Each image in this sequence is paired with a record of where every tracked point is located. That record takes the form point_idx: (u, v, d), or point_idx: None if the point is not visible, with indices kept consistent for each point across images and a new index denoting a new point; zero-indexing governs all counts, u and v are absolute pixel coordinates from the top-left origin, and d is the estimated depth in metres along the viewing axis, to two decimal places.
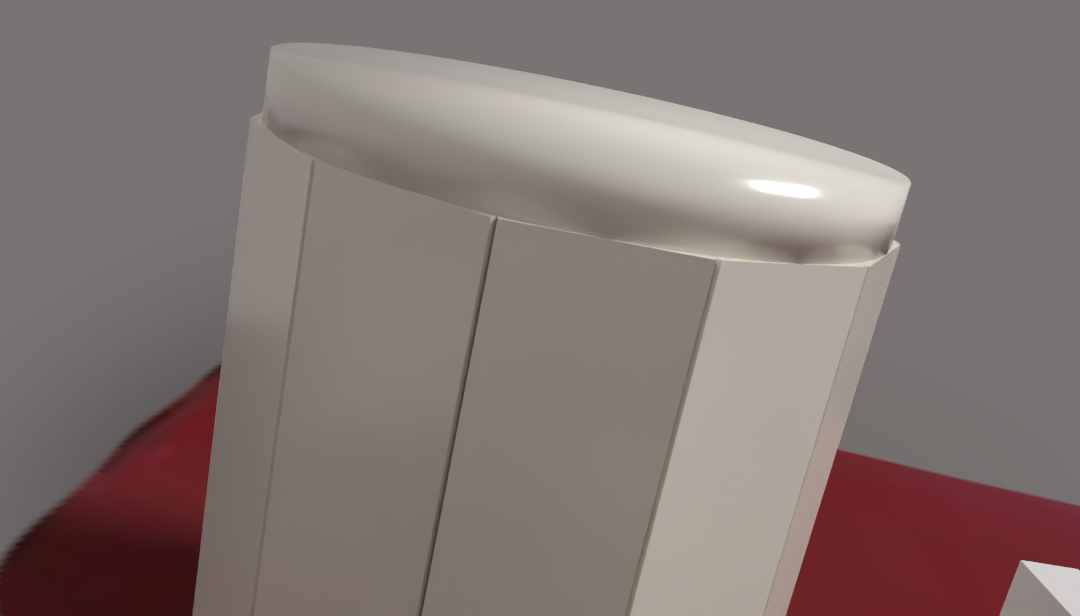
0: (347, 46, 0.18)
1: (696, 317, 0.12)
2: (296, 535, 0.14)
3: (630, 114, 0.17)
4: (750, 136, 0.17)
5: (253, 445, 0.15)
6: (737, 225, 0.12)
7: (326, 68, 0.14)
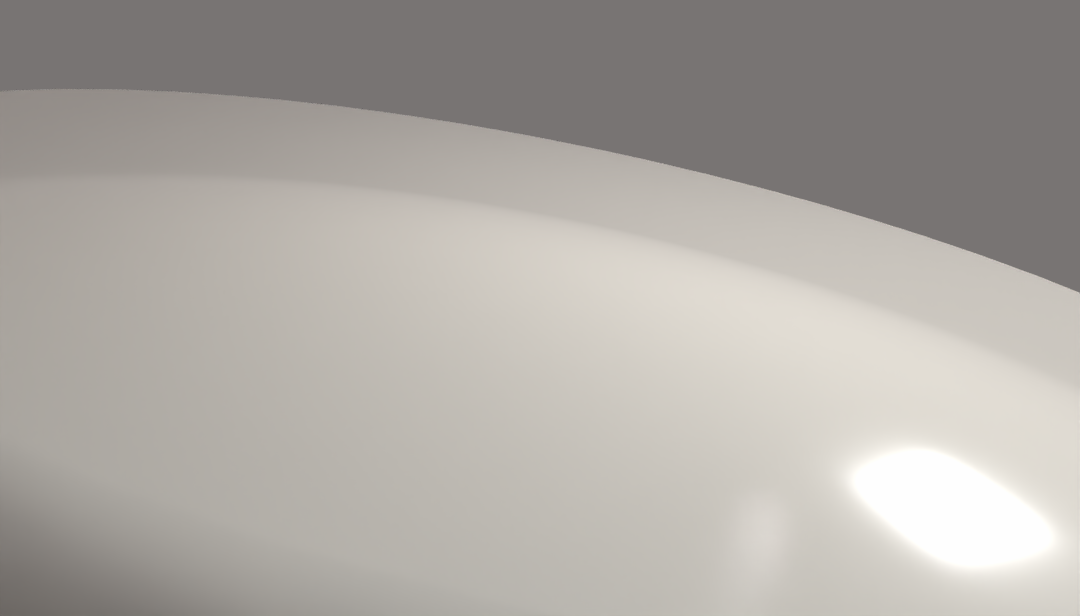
0: (114, 93, 0.09)
1: None
2: None
3: (672, 246, 0.08)
4: (914, 282, 0.08)
5: None
6: None
7: None
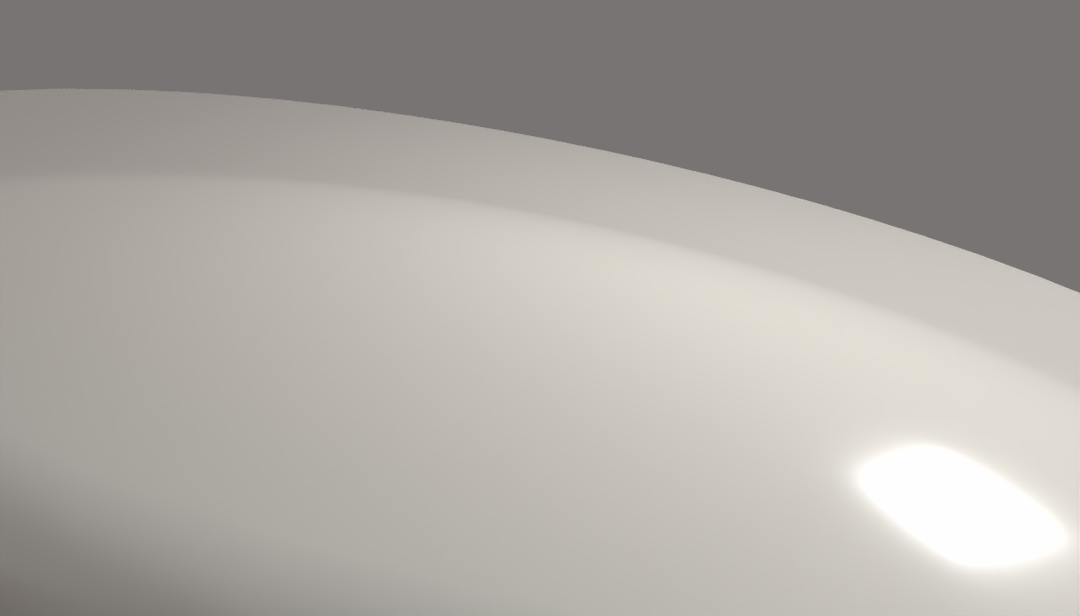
0: (114, 92, 0.09)
1: None
2: None
3: (670, 246, 0.08)
4: (912, 282, 0.08)
5: None
6: None
7: None
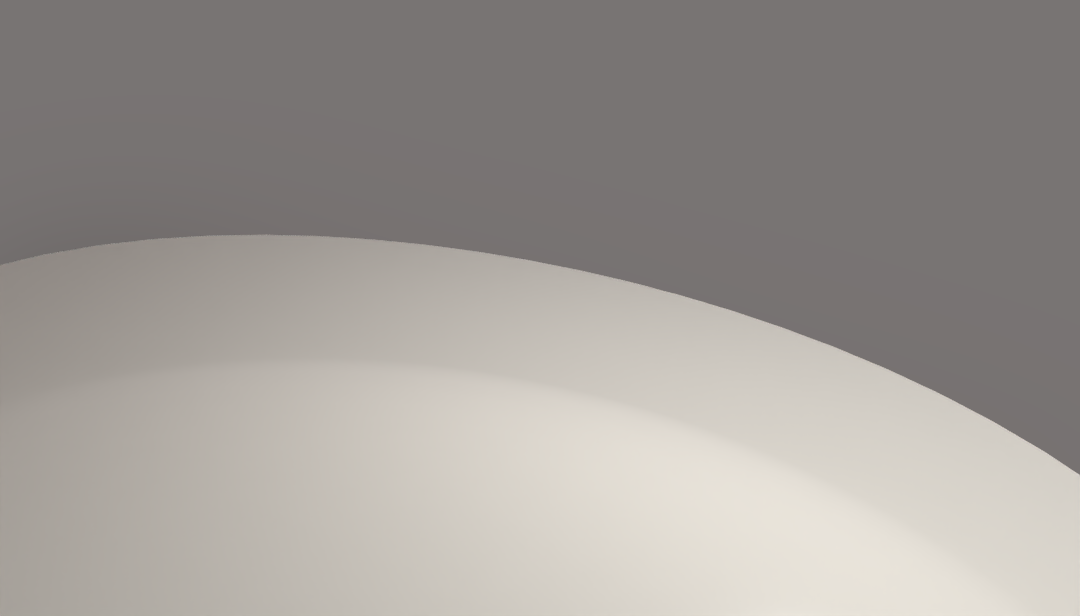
0: (98, 252, 0.10)
1: None
2: None
3: (629, 429, 0.08)
4: (864, 453, 0.09)
5: None
6: None
7: None
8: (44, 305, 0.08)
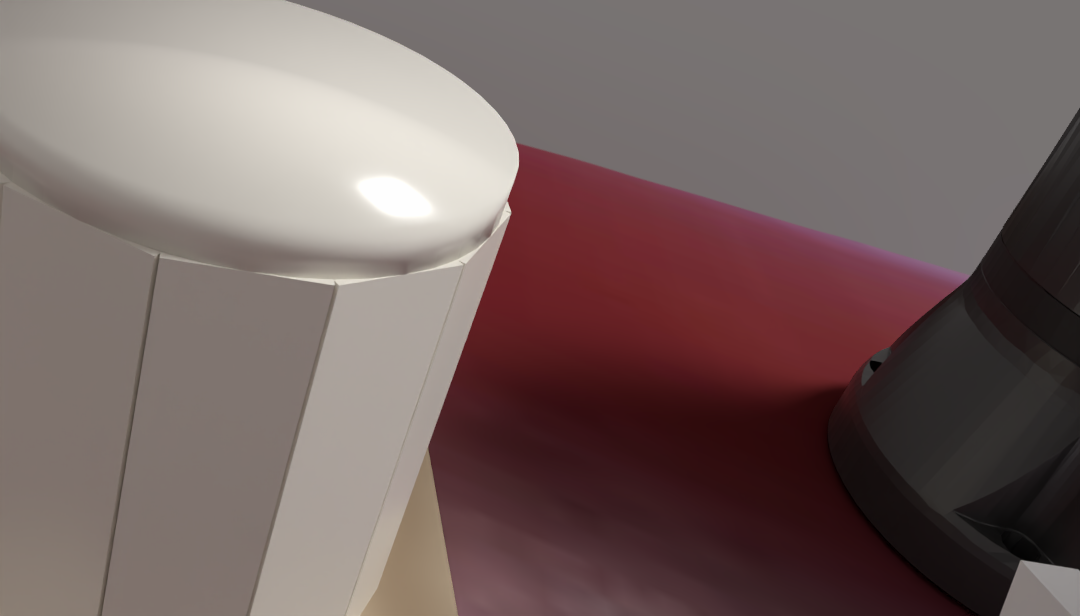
0: None
1: (321, 321, 0.16)
2: (12, 451, 0.18)
3: (299, 87, 0.19)
4: (404, 104, 0.20)
5: None
6: (353, 258, 0.16)
7: (9, 80, 0.16)
8: (29, 15, 0.18)
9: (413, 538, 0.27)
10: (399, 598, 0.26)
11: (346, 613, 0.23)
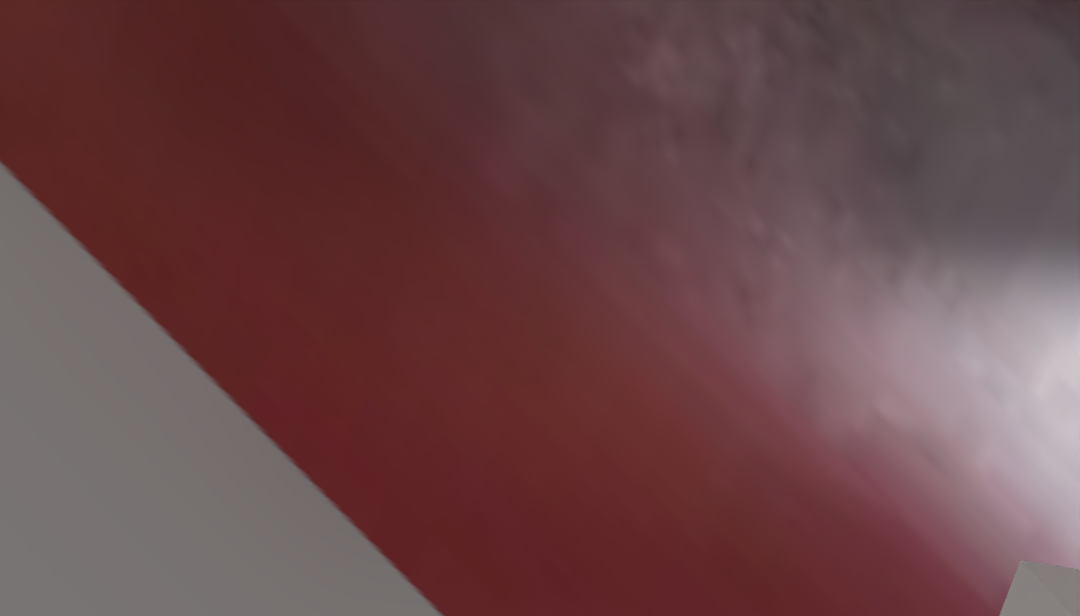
0: None
1: None
2: None
3: None
4: None
5: None
6: None
7: None
8: None
9: None
10: None
11: None
